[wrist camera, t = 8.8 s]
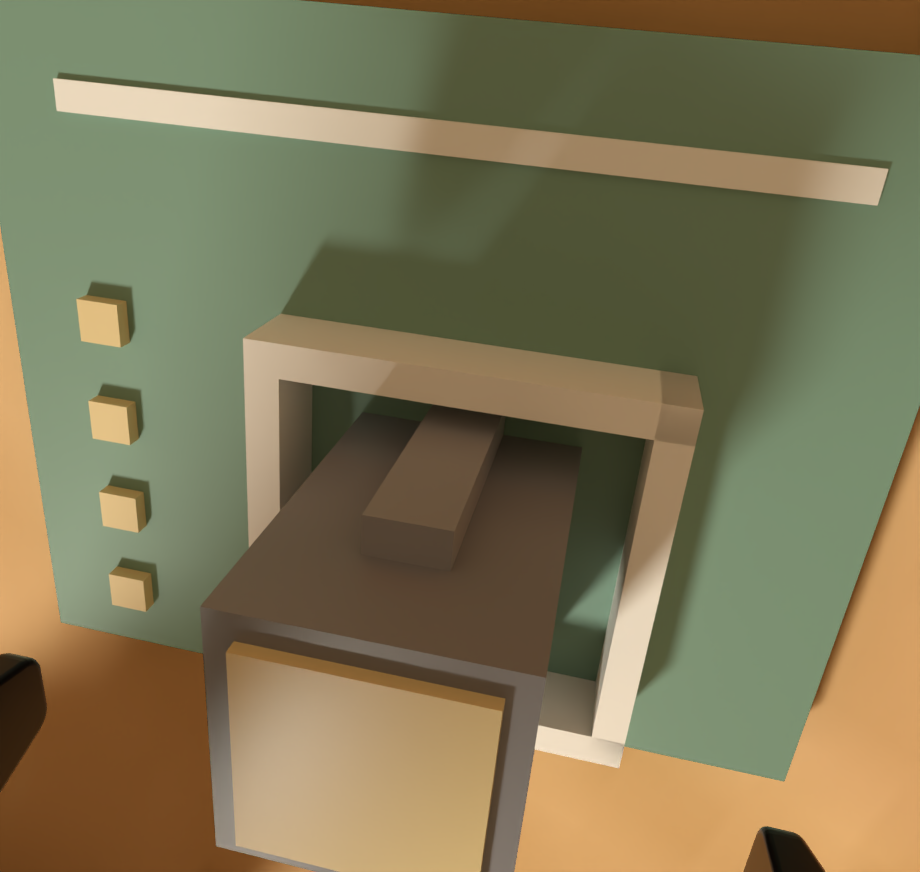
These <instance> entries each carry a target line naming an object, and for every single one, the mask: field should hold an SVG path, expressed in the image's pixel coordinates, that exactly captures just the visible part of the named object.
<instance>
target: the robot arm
mask: <svg viewBox="0 0 920 872" xmlns="http://www.w3.org/2000/svg"><path fill="white" fill-rule="evenodd" d="M46 711H47V703H46V698H45V692H44V686H43V680H42V675H41V669H40V665H39V664H38V662H37V661H36V660H35V659H33V658H29V657H24V656H20V655H16V654H11V653H6V654H1V655H0V792H1V791H2V789H3V787H4V786H5V784H6V783H7V781H8V779H9V778H10V776H11V775H12V773H13V771H14V770H15V768H16V767H17V765H18V763H19V762H20V760H21V759H22V757H23V755H24V754H25V752H26V751H27V749H28V747H29V746H30V744H31V743H32V741H33V739H34V738H35V736H36V735H37V733H38V731H39V730H40V728H41V726H42V724H43V722H44V720H45V716H46ZM744 872H825V870H824V869H823V867H822V866H821V864H820V863H819V861H818V860H817V858H816V857H815V855H814V854H813V853H812V851H811V850H810V848H809V847H808V845H807V844H806V842H805V841H804V840H803V838H801V837H800V836H799V835H798V834H796V833H793V832H789V831H785V830H781V829H776V828H772V827H768V826H767V827H762V828H761V829H760V830H759V831H758V833H757V835H756V838H755V840H754V843H753V846H752V849H751V852H750V855H749V857H748V860H747V863H746V866H745V869H744Z"/></svg>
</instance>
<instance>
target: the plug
mask: <svg viewBox="0 0 920 872" xmlns="http://www.w3.org/2000/svg"><path fill="white" fill-rule="evenodd" d="M505 417H506V416H502V415H496V414H490V413H483V412H477V411H471V410H465V409H459V408H453V407H447V406H440V405H434V404H433V405H432V406H431V408H430V409H429V411H428V413H427V414H426V416H425V417H424V419H423V420H422V421H416V420H409V419H403V418H397V417H391V416H385V415H378V414H372V413H366V412H362V413H361V415H360V416H359V417H358V418H357V419H356V421H355V422H354V423H353V424H352V425H351V427H350V428H349V429H348V430H347V431H346V433H345V434H344V435H343V436H342V437H341V439H340V440H339V441H338V442H337V443H336V445H335V446H334V447H333V448H332V449H331V451H330V452H329V453H328V454H327V455H326V456H325V458H324V459H323V460H322V461H321V462H320V464H319V465H318V466H317V467H316V468H315V470H314V471H313V472H312V473H311V474H310V476H309V477H308V478H307V479H306V480H305V482H304V483H303V484H302V485H301V486H300V488H299V489H298V490H297V491H296V492H295V494H294V495H293V496H292V497H291V498H290V499H289V501H288V502H287V503H286V504H285V505H284V507H283V508H282V509H281V510H280V511H279V513H278V514H277V515H276V516H275V517H274V519H273V520H272V521H271V522H270V523H269V525H268V526H267V527H266V528H265V529H264V531H263V532H262V533H261V534H260V535H259V537H258V538H257V539H256V540H255V541H254V543H253V544H252V545H251V546H250V547H249V548H248V550H247V551H246V552H245V553H244V554H243V556H242V557H241V558H240V559H239V560H238V562H237V563H236V564H235V565H234V566H233V568H232V569H231V570H230V571H229V572H228V574H227V575H226V576H225V577H224V578H223V580H222V581H221V582H220V583H219V584H218V586H217V587H216V588H215V589H214V590H213V591H212V593H211V594H210V595H209V596H208V597H207V599H206V600H205V601H204V602H203V603H202V605H201V606H200V615H201V630H202V645H203V660H204V675H205V690H206V705H207V720H208V735H209V750H210V765H211V780H212V795H213V810H214V825H215V840H216V846H217V847H221V848H225V849H229V850H233V851H237V852H240V853H244V854H248V855H252V856H256V857H260V858H264V859H268V860H272V861H276V862H280V863H284V864H288V865H292V866H296V867H300V868H304V869H307V870H311V871H315V872H514V870H515V864H516V858H517V852H518V846H519V839H520V833H521V827H522V821H523V815H524V809H525V803H526V797H527V791H528V785H529V779H530V773H531V767H532V761H533V755H534V749H535V743H536V737H537V731H538V725H539V719H540V713H541V707H542V701H543V695H544V688H545V682H546V676H547V670H548V664H549V657H550V651H551V644H552V638H553V632H554V625H555V619H556V613H557V606H558V600H559V594H560V587H561V581H562V574H563V568H564V562H565V555H566V549H567V543H568V536H569V530H570V523H571V517H572V511H573V504H574V498H575V492H576V485H577V479H578V472H579V466H580V460H581V453H582V447H577V446H570V445H564V444H558V443H552V442H546V441H539V440H533V439H527V438H521V437H515V436H508V435H503V434H504V426H505Z"/></svg>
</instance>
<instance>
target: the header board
mask: <svg viewBox="0 0 920 872" xmlns="http://www.w3.org/2000/svg"><path fill="white" fill-rule="evenodd" d="M0 227H1V234H2V240H3V247H4V253H5V260H6V266H7V273H8V279H9V286H10V292H11V299H12V306H13V312H14V319H15V325H16V332H17V338H18V345H19V351H20V358H21V364H22V371H23V377H24V384H25V391H26V397H27V404H28V410H29V417H30V423H31V430H32V436H33V443H34V449H35V456H36V462H37V469H38V476H39V482H40V489H41V495H42V502H43V508H44V515H45V521H46V528H47V534H48V541H49V547H50V554H51V561H52V567H53V574H54V580H55V587H56V593H57V600H58V606H59V613H60V619H61V623H66V624H70V625H75V626H80V627H84V628H89V629H93V630H98V631H102V632H107V633H111V634H116V635H120V636H125V637H130V638H134V639H139V640H143V641H148V642H152V643H157V644H161V645H166V646H170V647H175V648H180V649H184V650H189V651H193V652H198V653H202V654H203V645H202V630H201V615H200V606H201V605H202V603H203V602H204V601H205V600H206V599H207V597H208V596H209V595H210V594H211V593H212V591H213V590H214V589H215V588H216V587H217V586H218V584H219V583H220V582H221V581H222V580H223V578H224V577H225V576H226V575H227V574H228V572H229V571H230V570H231V569H232V568H233V566H234V565H235V564H236V563H237V562H238V560H239V559H240V558H241V557H242V556H243V554H244V553H245V552H246V551H247V550H248V548H249V547H250V546H251V545H252V544H253V543H254V541H255V540H256V539H257V538H258V537H259V535H260V534H261V533H262V532H263V531H264V529H265V528H266V527H267V526H268V525H269V523H270V522H271V521H272V520H273V519H274V517H275V516H276V515H277V514H278V513H279V511H280V510H281V509H282V508H283V507H284V505H285V504H286V503H287V502H288V501H289V499H290V498H291V497H292V496H293V495H294V494H295V492H296V491H297V490H298V489H299V488H300V486H301V485H302V484H303V483H304V482H305V480H306V479H307V478H308V477H309V476H310V474H311V473H312V472H313V471H314V470H315V468H316V467H317V466H318V465H319V464H320V462H321V461H322V460H323V459H324V458H325V456H326V455H327V454H328V453H329V452H330V451H331V449H332V448H333V447H334V446H335V445H336V443H337V442H338V441H339V440H340V439H341V437H342V436H343V435H344V434H345V433H346V431H347V430H348V429H349V428H350V427H351V425H352V424H353V423H354V422H355V421H356V419H357V418H358V417H359V416H360V415H361V413H362V412H366V413H372V414H378V415H385V416H391V417H397V418H403V419H409V420H416V421H422V420H423V419H424V417H425V416H426V414H427V413H428V411H429V409H430V408H431V406H432V405H433V404H434V405H440V406H447V407H453V408H459V409H465V410H471V411H477V412H483V413H490V414H496V415H502V416H506V417H505V426H504V434H503V435H508V436H515V437H521V438H527V439H533V440H539V441H546V442H552V443H558V444H564V445H570V446H577V447H582V453H581V460H580V466H579V472H578V479H577V485H576V492H575V498H574V504H573V511H572V517H571V523H570V530H569V536H568V543H567V549H566V555H565V562H564V568H563V574H562V581H561V587H560V594H559V600H558V606H557V613H556V619H555V625H554V632H553V638H552V644H551V651H550V657H549V664H548V670H547V676H546V682H545V688H544V695H543V701H542V707H541V713H540V719H539V725H538V731H537V737H536V743H535V750H540V751H544V752H549V753H553V754H558V755H562V756H566V757H571V758H575V759H580V760H584V761H589V762H593V763H598V764H602V765H607V766H611V767H616V768H619V766H620V762H621V758H622V754H623V749H624V746H625V747H630V748H634V749H639V750H643V751H648V752H653V753H657V754H662V755H666V756H671V757H675V758H680V759H684V760H689V761H693V762H698V763H703V764H707V765H712V766H716V767H721V768H725V769H730V770H734V771H739V772H743V773H748V774H753V775H757V776H762V777H766V778H771V779H775V780H780V781H785V778H786V775H787V773H788V770H789V767H790V764H791V761H792V759H793V756H794V753H795V750H796V748H797V745H798V742H799V739H800V736H801V734H802V731H803V728H804V725H805V723H806V720H807V717H808V714H809V712H810V709H811V706H812V703H813V700H814V698H815V695H816V692H817V689H818V687H819V684H820V681H821V678H822V675H823V673H824V670H825V667H826V664H827V662H828V659H829V656H830V653H831V650H832V648H833V645H834V642H835V639H836V637H837V634H838V631H839V628H840V626H841V623H842V620H843V617H844V614H845V612H846V609H847V606H848V603H849V601H850V598H851V595H852V592H853V589H854V587H855V584H856V581H857V578H858V576H859V573H860V570H861V567H862V565H863V562H864V559H865V556H866V553H867V551H868V548H869V545H870V542H871V540H872V537H873V534H874V531H875V528H876V526H877V523H878V520H879V517H880V515H881V512H882V509H883V506H884V503H885V501H886V498H887V495H888V492H889V490H890V487H891V484H892V481H893V479H894V476H895V473H896V470H897V467H898V465H899V462H900V459H901V456H902V454H903V451H904V448H905V445H906V442H907V440H908V437H909V434H910V431H911V429H912V426H913V423H914V420H915V418H916V415H917V412H918V409H919V406H920V55H914V54H903V53H891V52H880V51H869V50H857V49H846V48H835V47H823V46H812V45H801V44H789V43H778V42H767V41H755V40H744V39H733V38H721V37H710V36H699V35H687V34H676V33H665V32H653V31H642V30H631V29H619V28H608V27H597V26H586V25H574V24H563V23H552V22H540V21H529V20H518V19H506V18H495V17H484V16H472V15H461V14H450V13H438V12H427V11H416V10H404V9H393V8H382V7H370V6H359V5H348V4H336V3H325V2H314V1H302V0H0Z"/></svg>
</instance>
